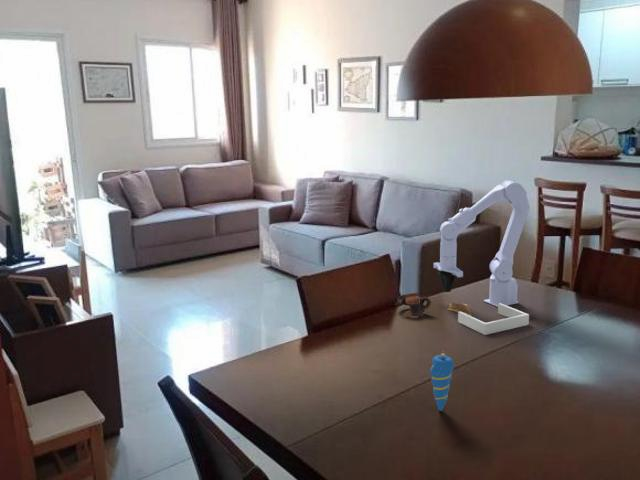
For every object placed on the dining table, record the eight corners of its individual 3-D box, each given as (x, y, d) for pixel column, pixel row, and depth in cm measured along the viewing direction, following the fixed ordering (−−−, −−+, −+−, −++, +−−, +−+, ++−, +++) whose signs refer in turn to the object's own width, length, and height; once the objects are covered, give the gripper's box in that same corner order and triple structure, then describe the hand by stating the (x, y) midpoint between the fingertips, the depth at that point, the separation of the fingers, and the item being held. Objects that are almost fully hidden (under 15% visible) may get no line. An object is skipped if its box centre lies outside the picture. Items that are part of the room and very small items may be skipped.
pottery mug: (398, 319, 194) (392, 296, 196) (401, 322, 202) (396, 299, 205) (433, 312, 191) (427, 288, 193) (435, 315, 200) (429, 292, 202)
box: (500, 312, 196) (500, 303, 195) (528, 324, 184) (529, 314, 184) (458, 321, 188) (458, 311, 188) (484, 335, 177) (485, 324, 176)
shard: (471, 318, 192) (472, 313, 192) (448, 318, 194) (448, 313, 193) (468, 307, 203) (468, 303, 202) (446, 307, 204) (446, 302, 204)
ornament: (436, 403, 137) (437, 344, 133) (456, 409, 133) (458, 350, 130) (425, 412, 133) (426, 352, 129) (446, 419, 129) (447, 357, 126)
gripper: (427, 252, 208) (426, 287, 211) (452, 261, 196) (450, 298, 199) (442, 250, 211) (441, 285, 214) (468, 258, 199) (467, 295, 201)
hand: (447, 291), depth 207 cm, fingers closed
